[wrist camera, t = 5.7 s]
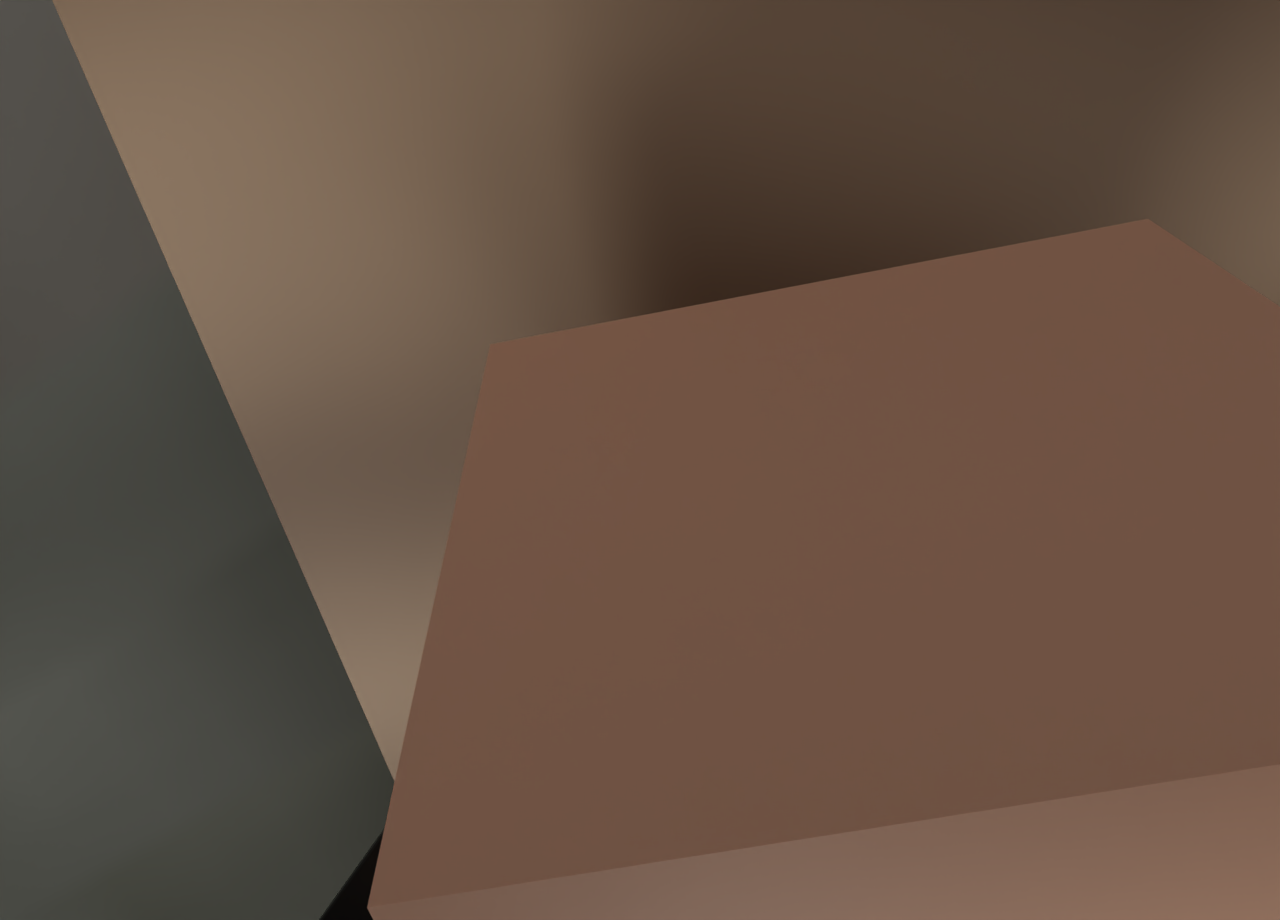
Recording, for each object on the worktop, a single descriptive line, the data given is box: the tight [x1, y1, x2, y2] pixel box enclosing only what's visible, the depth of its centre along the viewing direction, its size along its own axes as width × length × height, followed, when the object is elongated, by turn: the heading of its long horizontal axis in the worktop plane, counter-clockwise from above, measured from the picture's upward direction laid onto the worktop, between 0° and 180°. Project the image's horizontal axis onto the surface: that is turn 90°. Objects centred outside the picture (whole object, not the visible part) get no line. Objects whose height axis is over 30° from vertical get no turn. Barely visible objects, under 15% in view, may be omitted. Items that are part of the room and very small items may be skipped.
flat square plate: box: [52, 0, 1280, 782], centre depth 12 cm, size 12×12×1 cm
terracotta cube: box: [367, 219, 1280, 920], centre depth 8 cm, size 6×6×6 cm
